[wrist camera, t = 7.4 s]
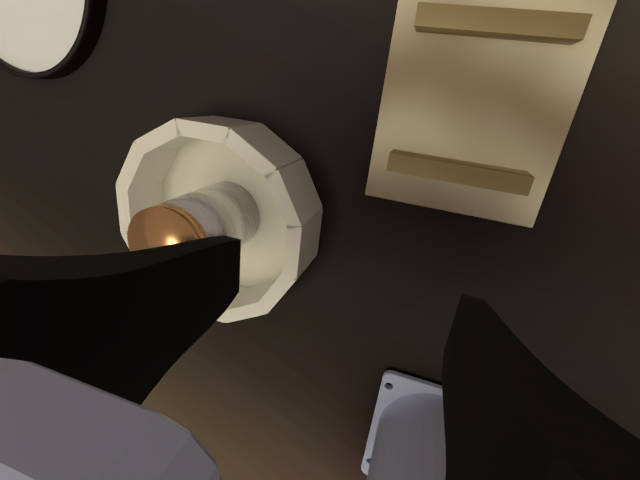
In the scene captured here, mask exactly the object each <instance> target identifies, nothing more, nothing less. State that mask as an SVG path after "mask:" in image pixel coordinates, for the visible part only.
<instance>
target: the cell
mask: <svg viewBox="0 0 640 480" xmlns="http://www.w3.org/2000/svg"><path fill="white" fill-rule="evenodd" d="M259 225H260V212H259V208H258V206H257V203H256V201H255V199H254V198H253V196H252V195H251V194H250V193H249V192H248V191H247V190H246V189H245V188H244V187H242V186H241V185H239V184H237V183H234V182H230V181H221V182H217V183H215V184H212V185H209V186H206V187H204V188H201V189H198V190H195V191H192V192H190V193H187V194H184V195H181V196H179V197H176V198H173V199H170V200H168V201H165V202H162V203H159V204H157V205H154V206H151V207H148V208H146V209H143V210H141V211H139V212H138V213H136V214H135V215H134V217H133V218H132V219H131V221H130V223H129V226H128V232H127V240H128V246H129V250H130V251H137V250H143V249H148V248H154V247H160V246H166V245H171V244H176V243H181V242H186V241H191V240H196V239H201V238H207V237H213V236H229V237H233V238H237V239H241V246H242V245H244V244H245V243H247V242H248V241H249V240H251V239H252V238H253V237H254V236H255V234H256V233H257V231H258V228H259Z"/></svg>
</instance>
